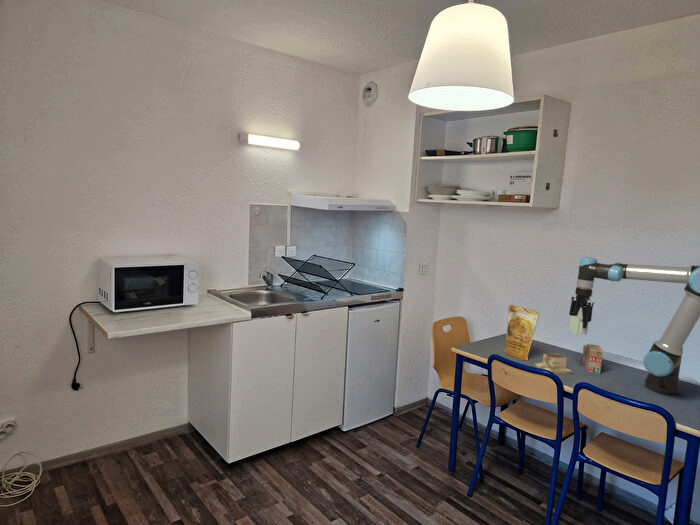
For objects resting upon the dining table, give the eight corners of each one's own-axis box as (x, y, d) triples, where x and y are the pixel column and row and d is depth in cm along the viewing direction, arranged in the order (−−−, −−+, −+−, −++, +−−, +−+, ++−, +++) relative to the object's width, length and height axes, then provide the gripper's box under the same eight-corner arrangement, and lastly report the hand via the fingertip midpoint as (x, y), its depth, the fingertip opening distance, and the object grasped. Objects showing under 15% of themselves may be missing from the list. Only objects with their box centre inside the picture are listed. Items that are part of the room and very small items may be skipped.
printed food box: (581, 360, 271) (584, 339, 270) (593, 362, 269) (596, 340, 268) (587, 372, 251) (590, 349, 250) (600, 374, 249) (603, 351, 248)
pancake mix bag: (507, 350, 281) (512, 303, 278) (534, 360, 265) (540, 311, 261) (499, 351, 278) (504, 304, 274) (526, 362, 261) (532, 312, 258)
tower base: (573, 373, 247) (574, 359, 246) (551, 374, 244) (553, 360, 243) (555, 364, 260) (557, 351, 259) (534, 365, 257) (536, 351, 256)
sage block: (586, 334, 244) (589, 319, 243) (576, 334, 242) (578, 318, 241) (578, 330, 249) (581, 315, 248) (568, 330, 248) (571, 315, 247)
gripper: (604, 292, 234) (597, 337, 238) (578, 284, 253) (571, 326, 256) (591, 291, 232) (584, 337, 236) (565, 283, 251) (559, 326, 254)
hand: (577, 331), depth 246 cm, fingers closed on sage block, 6 cm apart
